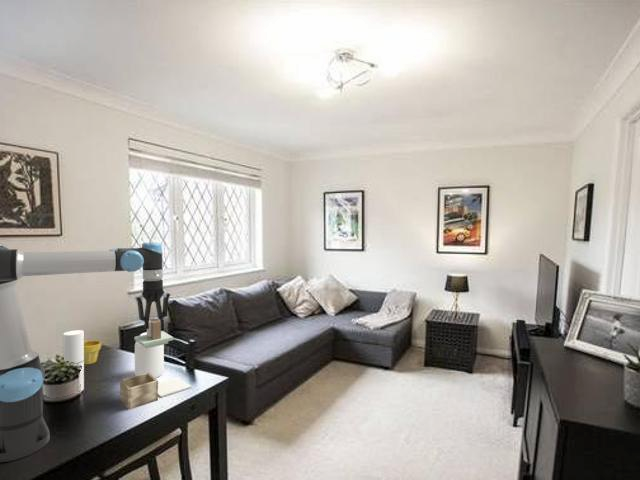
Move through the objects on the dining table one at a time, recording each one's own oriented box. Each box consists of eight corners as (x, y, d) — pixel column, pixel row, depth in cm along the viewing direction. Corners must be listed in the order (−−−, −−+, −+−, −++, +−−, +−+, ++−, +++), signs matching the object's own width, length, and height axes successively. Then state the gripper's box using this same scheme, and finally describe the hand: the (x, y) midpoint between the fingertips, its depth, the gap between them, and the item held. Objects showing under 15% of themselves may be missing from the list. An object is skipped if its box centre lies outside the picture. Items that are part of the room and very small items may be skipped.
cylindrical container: (73, 395, 144) (73, 335, 144) (59, 393, 146) (58, 334, 145) (87, 387, 151) (87, 330, 150) (74, 385, 153) (74, 329, 152)
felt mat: (160, 398, 144) (160, 396, 144) (149, 387, 153) (149, 385, 153) (191, 388, 153) (191, 386, 153) (178, 378, 162) (178, 377, 162)
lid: (143, 350, 138) (143, 326, 137) (134, 343, 146) (134, 320, 145) (173, 343, 146) (172, 320, 145) (163, 336, 154) (162, 315, 153)
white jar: (148, 368, 173) (148, 328, 172) (169, 371, 170) (169, 331, 169) (128, 378, 161) (128, 336, 160) (150, 382, 158) (150, 338, 157)
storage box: (128, 409, 134) (128, 389, 134) (119, 399, 142) (119, 380, 142) (157, 400, 142) (158, 380, 142) (148, 390, 150) (148, 372, 149)
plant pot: (105, 358, 184) (105, 340, 184) (91, 366, 174) (91, 347, 174) (87, 357, 185) (87, 339, 185) (71, 365, 175) (71, 346, 175)
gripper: (134, 282, 136) (135, 341, 137) (175, 278, 147) (176, 332, 149) (128, 280, 142) (130, 337, 143) (169, 276, 153) (169, 329, 154)
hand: (153, 334), depth 146 cm, fingers closed on lid, 3 cm apart
